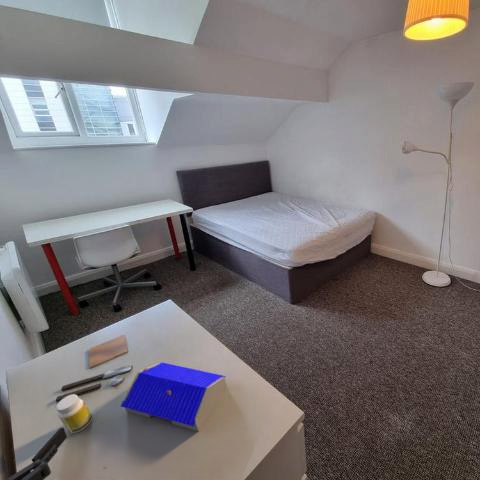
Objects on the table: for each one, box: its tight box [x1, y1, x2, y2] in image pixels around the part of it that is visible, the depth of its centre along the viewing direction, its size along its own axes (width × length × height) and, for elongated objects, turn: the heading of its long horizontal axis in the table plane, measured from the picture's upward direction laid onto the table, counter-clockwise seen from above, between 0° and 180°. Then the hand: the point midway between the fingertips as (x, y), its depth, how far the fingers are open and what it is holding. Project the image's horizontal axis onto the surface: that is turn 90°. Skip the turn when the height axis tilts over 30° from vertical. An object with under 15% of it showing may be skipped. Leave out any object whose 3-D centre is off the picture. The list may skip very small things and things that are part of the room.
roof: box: [120, 362, 228, 432], centre depth 72 cm, size 22×14×7 cm, turn 76°
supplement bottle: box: [55, 394, 93, 434], centre depth 66 cm, size 5×5×8 cm
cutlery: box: [55, 364, 133, 403], centre depth 78 cm, size 17×6×1 cm, turn 113°
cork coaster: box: [88, 334, 129, 369], centre depth 90 cm, size 10×10×1 cm
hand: (30, 436), depth 58 cm, fingers open, 13 cm apart
